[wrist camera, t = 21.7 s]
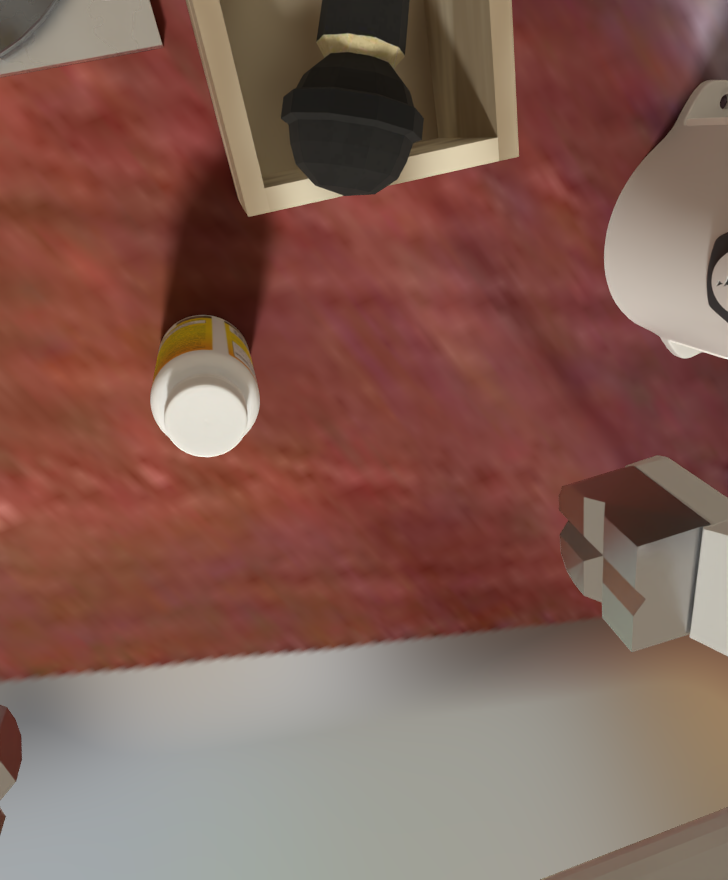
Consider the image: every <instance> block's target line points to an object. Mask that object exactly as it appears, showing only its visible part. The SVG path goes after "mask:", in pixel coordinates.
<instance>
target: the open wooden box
mask: <svg viewBox="0 0 728 880" xmlns="http://www.w3.org/2000/svg"><path fill="white" fill-rule="evenodd" d="M186 4H187V7H188V11H189V15H190V19H191V23H192V26H193V30H194V34H195V38H196V42H197V45H198V49H199V53H200V57H201V61H202V64H203V68H204V72H205V76H206V80H207V83H208V87H209V91H210V95H211V99H212V102H213V106H214V110H215V114H216V117H217V121H218V125H219V129H220V133H221V136H222V140H223V144H224V148H225V152H226V155H227V159H228V163H229V167H230V171H231V174H232V178H233V182H234V186H235V190H236V193H237V197H238V200H239V202H240V204H241V205H242V207H243V209H244V210H245V212H246V214H247V216H248V217H251V216H255V215H260V214H264V213H268V212H273V211H277V210H282V209H286V208H291V207H295V206H300V205H304V204H309V203H313V202H318V201H322V200H327V199H331V198H336V197H340V196H343V195H340V194H338V193H335V192H332V191H329V190H326V189H324V188H321V187H318V186H315V185H314V184H313V183H312V182H311V181H310V179H309V178H308V177H307V176H306V175H305V174H304V173H303V172H302V171H301V170H300V169H299V167H298V166H297V165H296V163H295V160H294V156H293V152H292V148H291V145H290V135H289V125H288V124H287V123H286V122H284V121H283V120H282V119H281V112H282V104H283V97H284V96H285V95H286V94H288V93H289V92H290V91H291V90H293V89H296V87H297V85H298V83H299V81H300V80H301V78H302V76H303V74H305V73H306V72H307V71H308V70H310V69H311V68H312V67H313V66H315V65H316V64H317V63H319V62H320V61H321V60H322V59H324V56H323V54H322V52H321V50H320V48H319V47H318V45H317V43H316V40H317V33H318V26H319V19H320V12H321V5H322V0H186ZM394 70H395V72H396V73H397V74H398V76H399V77H400V78H401V80H402V81H403V83H404V84H405V85H406V87H407V88H408V89H409V91H410V93H411V97H412V101H413V104H414V107H415V108H416V109H417V111H418V112H419V113H420V114H421V115H422V117H423V118H424V122H423V132H422V140H421V141H418V142H415V143H413V145H412V148H411V151H410V154H409V157H408V160H407V163H406V165H405V166H404V168H403V170H402V172H401V174H400V176H399V178H398V179H397V180H396V181H394V182H393V183H391V184H390V185H394V184H398V183H403V182H407V181H412V180H416V179H421V178H425V177H430V176H434V175H439V174H443V173H448V172H452V171H456V170H461V169H465V168H470V167H474V166H479V165H483V164H488V163H492V162H497V161H501V160H506V159H510V158H515V157H519V148H518V127H517V106H516V85H515V64H514V43H513V22H512V1H511V0H410V2H409V14H408V26H407V38H406V50H405V57H404V58H403V59H402V60H401V61H400V63H399V64H398V65H397V66H396V67H395V68H394ZM388 186H389V185H388Z"/></svg>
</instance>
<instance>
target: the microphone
mask: <svg viewBox="0 0 728 880" xmlns="http://www.w3.org/2000/svg"><path fill="white" fill-rule="evenodd" d="M409 2H410V0H322V5H321V12H320V19H319V26H318V33H317V40H316V43H317V45H318V47H319V48H320V50H321V52H322V54H323V56H324V59H322V60H321V61H320V62H319V63H317V64H316V65H315V66H313V67H312V68H311V69H310V70H308V71H307V72H306V73H305V74H303V76H302V78H301V80H300V81H299V83H298V85H297V87H296V89H293V90H291V91H290V92H289V93H288V94H286V95H285V96H284V97H283V104H282V112H281V119H282V120H283V121H284V122H286V123H287V124H288V125H289V135H290V145H291V148H292V152H293V156H294V160H295V163H296V165H297V166H298V167H299V169H300V170H301V171H302V172H303V173H304V174H305V175H306V176H307V177H308V178H309V179H310V181H311V182H312V183H313V184H314V185H315V186H318V187H321V188H324V189H326V190H329V191H332V192H335V193H338V194H340V195H343V196H351V195H369V194H376V193H377V192H379V191H380V190H382V189H383V188H385V187H387V186H388V185H390V184H391V183H393V182H394V181H396V180H397V179H398V178H399V176H400V174H401V172H402V170H403V168H404V166H405V165H406V163H407V160H408V157H409V154H410V151H411V148H412V145H413V143H415V142H418V141H421V140H422V132H423V122H424V118H423V117H422V115H421V114H420V113H419V112H418V111H417V109H416V108H415V107H414V104H413V101H412V97H411V93H410V91H409V89H408V88H407V87H406V85H405V84H404V83H403V81H402V80H401V78H400V77H399V76H398V74H397V73H396V72H395V70H394V68H395V67H396V66H397V65H398V64H399V63H400V61H401V60H402V59H403V58H404V57H405V50H406V38H407V26H408V14H409Z"/></svg>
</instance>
